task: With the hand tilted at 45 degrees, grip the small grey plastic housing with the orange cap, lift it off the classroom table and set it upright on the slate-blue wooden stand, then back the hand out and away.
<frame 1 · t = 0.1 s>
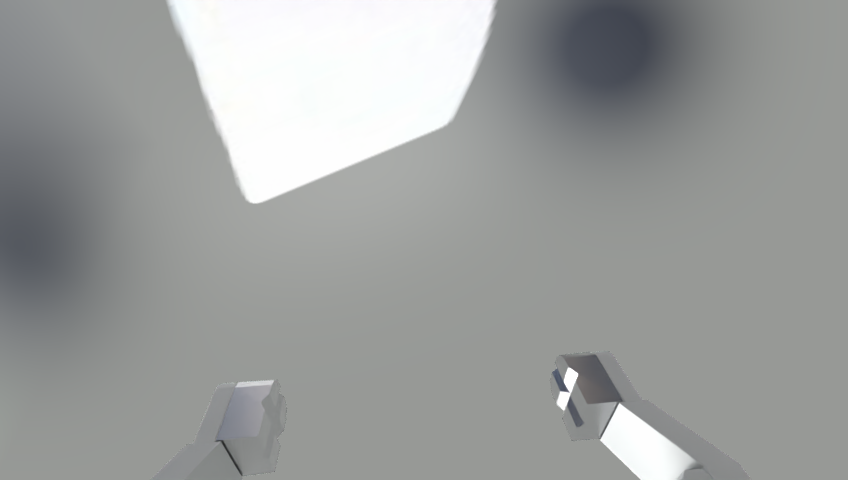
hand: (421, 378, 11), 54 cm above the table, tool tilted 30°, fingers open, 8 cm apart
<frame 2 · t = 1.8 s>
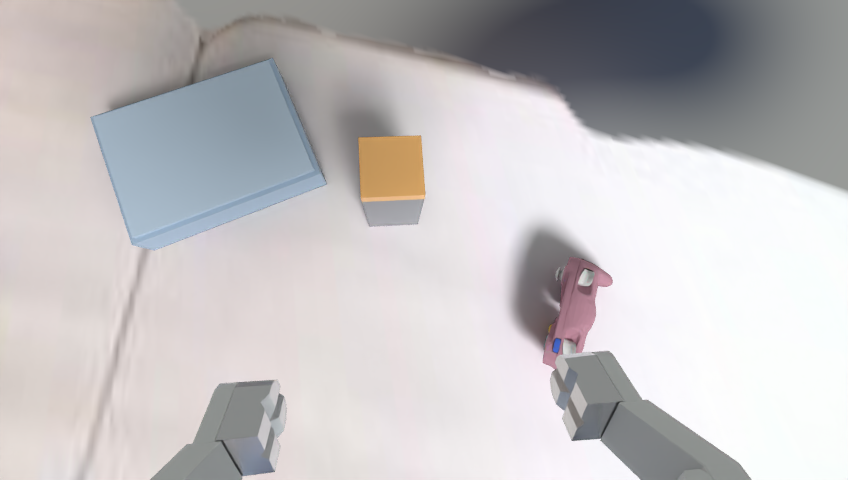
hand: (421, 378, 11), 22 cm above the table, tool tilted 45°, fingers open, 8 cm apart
stand: (221, 158, 35), on the table
housing: (392, 202, 35), on the table
video game controller: (563, 316, 35), on the table
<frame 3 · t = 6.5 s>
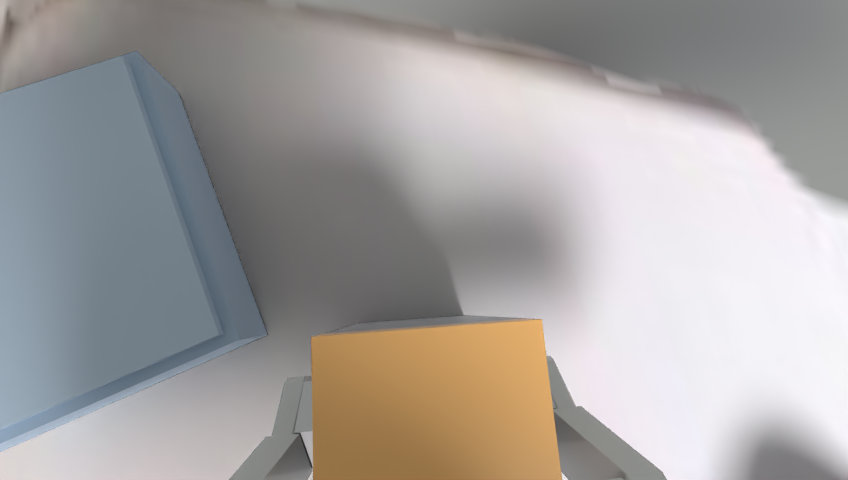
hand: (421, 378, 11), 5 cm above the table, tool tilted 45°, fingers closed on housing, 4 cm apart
stand: (28, 280, 15), on the table
housing: (415, 373, 16), on the table, touching gripper
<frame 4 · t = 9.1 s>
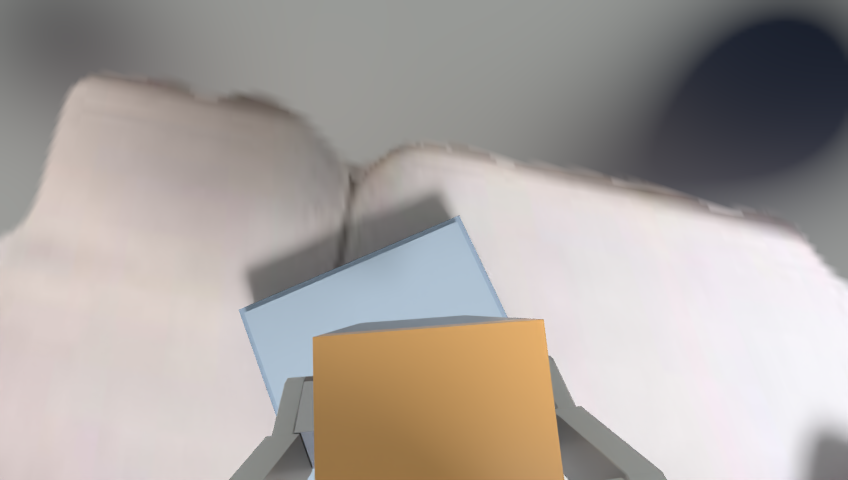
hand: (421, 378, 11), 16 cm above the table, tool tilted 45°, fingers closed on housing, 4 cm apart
stand: (389, 341, 27), on the table
housing: (416, 373, 16), point 12 cm above the table, touching gripper
when the fingers open (9 cm above the table, at t = 11.6 s): housing drops 1 cm, resting on stand.
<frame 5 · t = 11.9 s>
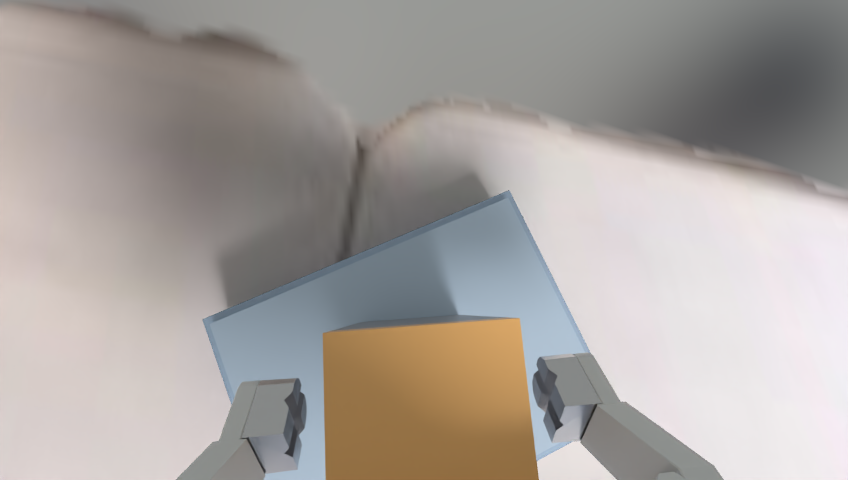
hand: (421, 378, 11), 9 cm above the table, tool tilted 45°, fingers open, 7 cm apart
stand: (412, 360, 20), on the table
housing: (413, 368, 17), point 3 cm above the table, touching stand
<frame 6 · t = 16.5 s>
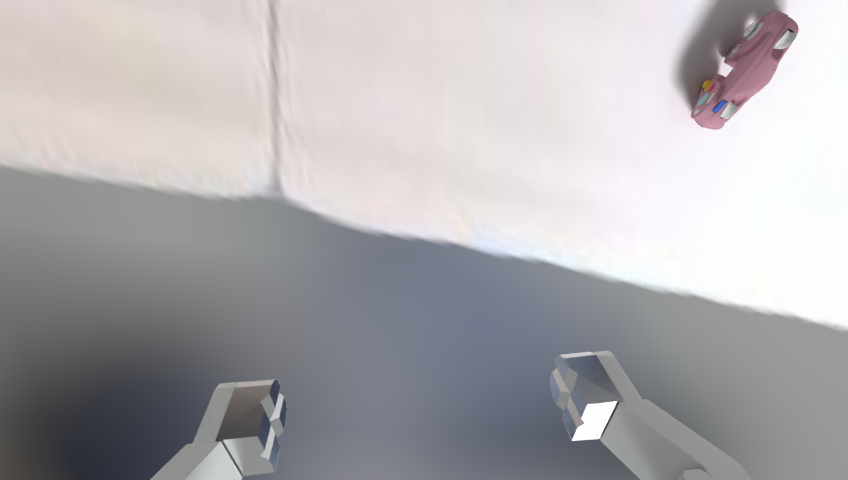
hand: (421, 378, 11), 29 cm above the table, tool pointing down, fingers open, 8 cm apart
video game controller: (719, 70, 36), on the table
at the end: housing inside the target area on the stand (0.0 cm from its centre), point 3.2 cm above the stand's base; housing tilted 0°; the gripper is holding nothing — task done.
